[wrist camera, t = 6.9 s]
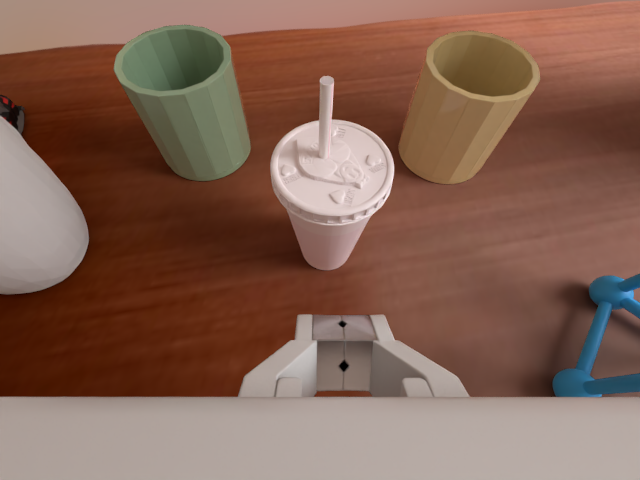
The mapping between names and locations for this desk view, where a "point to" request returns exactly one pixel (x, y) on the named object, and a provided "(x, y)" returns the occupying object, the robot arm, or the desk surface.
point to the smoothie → (330, 182)
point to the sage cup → (187, 99)
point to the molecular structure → (578, 381)
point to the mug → (35, 220)
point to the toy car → (12, 113)
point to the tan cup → (464, 104)
